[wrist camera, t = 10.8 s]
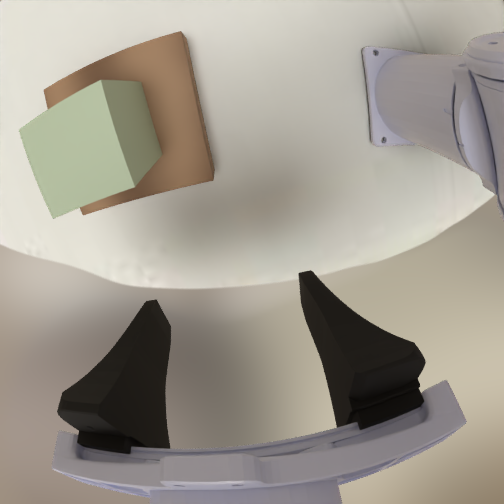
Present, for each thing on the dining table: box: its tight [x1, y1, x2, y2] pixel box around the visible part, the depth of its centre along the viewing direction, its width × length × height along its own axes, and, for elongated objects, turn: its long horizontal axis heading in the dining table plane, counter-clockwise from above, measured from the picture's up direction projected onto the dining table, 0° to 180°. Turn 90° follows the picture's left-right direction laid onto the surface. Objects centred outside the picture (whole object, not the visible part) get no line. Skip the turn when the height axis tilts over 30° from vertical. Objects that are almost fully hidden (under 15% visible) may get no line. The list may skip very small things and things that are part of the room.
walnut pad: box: [44, 31, 214, 215], centre depth 16 cm, size 10×10×3 cm
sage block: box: [19, 80, 162, 219], centre depth 12 cm, size 5×5×6 cm
